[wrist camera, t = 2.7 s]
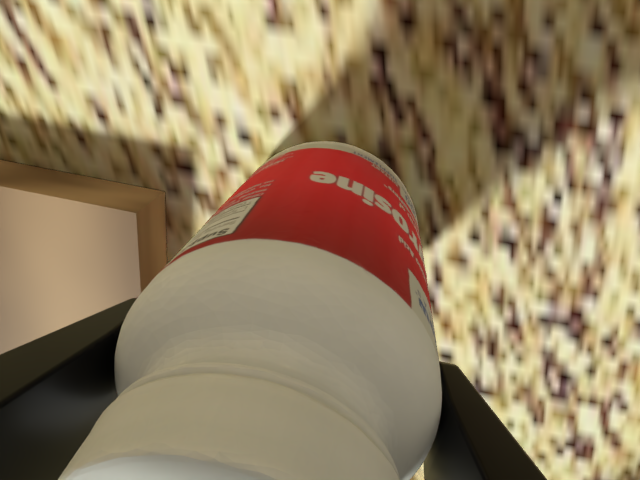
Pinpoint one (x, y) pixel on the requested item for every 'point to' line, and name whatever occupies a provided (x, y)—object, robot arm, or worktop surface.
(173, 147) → the worktop surface
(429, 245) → the worktop surface
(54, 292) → the walnut plinth
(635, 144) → the worktop surface
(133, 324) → the pill bottle
